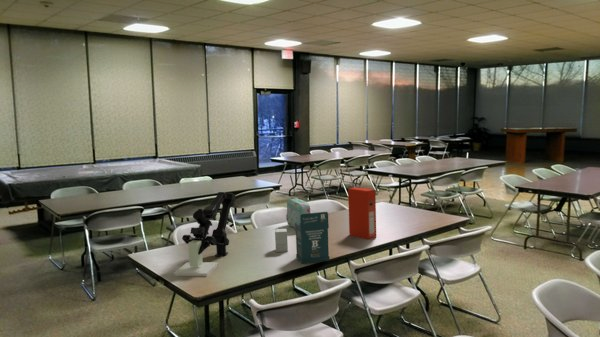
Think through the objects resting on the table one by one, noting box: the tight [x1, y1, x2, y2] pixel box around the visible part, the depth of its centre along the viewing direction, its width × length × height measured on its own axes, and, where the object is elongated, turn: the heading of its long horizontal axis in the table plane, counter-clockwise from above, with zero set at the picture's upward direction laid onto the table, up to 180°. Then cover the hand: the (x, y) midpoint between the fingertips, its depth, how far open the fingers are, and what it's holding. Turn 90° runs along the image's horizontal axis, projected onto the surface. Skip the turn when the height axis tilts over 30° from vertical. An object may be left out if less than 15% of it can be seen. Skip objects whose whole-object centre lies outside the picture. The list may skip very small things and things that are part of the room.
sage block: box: [187, 240, 204, 267], centre depth 242 cm, size 5×5×13 cm
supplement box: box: [274, 228, 289, 253], centre depth 274 cm, size 7×7×13 cm
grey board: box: [173, 261, 219, 277], centre depth 243 cm, size 18×18×2 cm
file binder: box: [347, 186, 377, 240], centre depth 300 cm, size 8×17×32 cm, turn 39°
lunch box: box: [285, 197, 311, 230], centre depth 331 cm, size 27×10×21 cm, turn 25°
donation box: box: [295, 211, 331, 265], centre depth 256 cm, size 16×16×28 cm
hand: (194, 253), depth 241 cm, fingers closed on sage block, 5 cm apart
